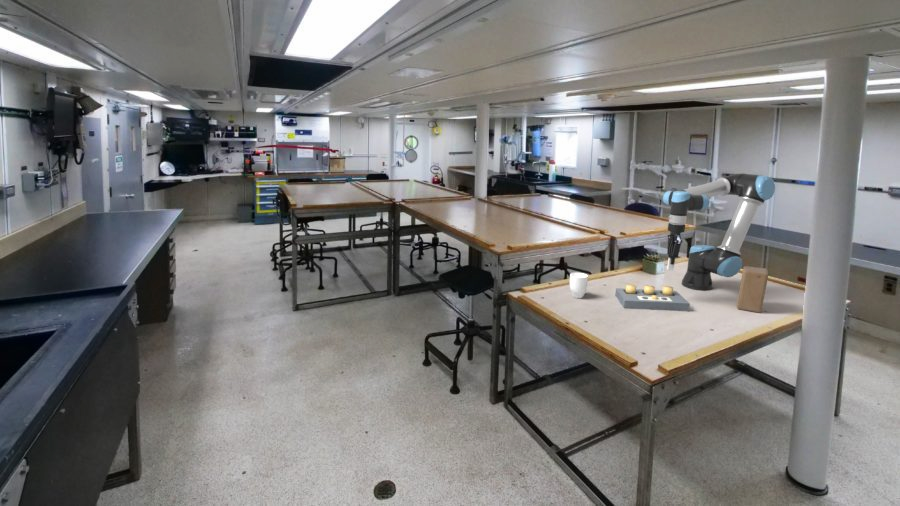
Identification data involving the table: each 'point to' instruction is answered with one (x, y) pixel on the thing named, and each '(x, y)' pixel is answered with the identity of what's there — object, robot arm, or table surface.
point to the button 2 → (667, 291)
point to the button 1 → (630, 289)
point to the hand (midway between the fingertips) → (670, 269)
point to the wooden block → (752, 289)
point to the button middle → (649, 290)
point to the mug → (578, 284)
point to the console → (634, 302)
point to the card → (654, 298)
